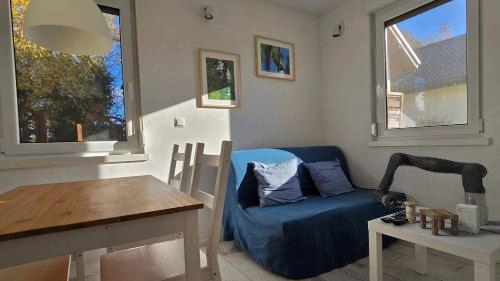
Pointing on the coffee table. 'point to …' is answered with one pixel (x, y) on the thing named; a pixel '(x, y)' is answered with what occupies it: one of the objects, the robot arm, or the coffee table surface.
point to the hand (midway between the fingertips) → (402, 207)
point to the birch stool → (411, 211)
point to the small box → (468, 218)
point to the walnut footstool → (438, 219)
